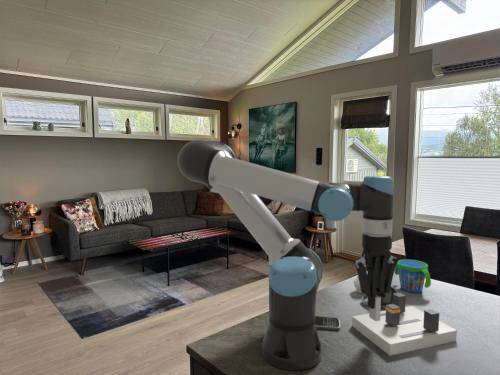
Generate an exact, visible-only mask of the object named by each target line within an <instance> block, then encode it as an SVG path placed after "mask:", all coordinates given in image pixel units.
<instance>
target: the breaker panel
mask: <svg viewBox="0 0 500 375" xmlns="http://www.w3.org/2000/svg"><path fill="white" fill-rule="evenodd" d="M385 321H386V310H381V312H380V321H374V320H373V319H371V318H370V317H369V313H364V314H359V315H352V318H351V323H352V324H351V326H352V328H354V329H355V330H356V331H358V332H359V333H360V334H361V335H363V336H364V337H365V338H367V339H368V340H369V341H370V342H371V343H373V344H374V345H375V346H377V347H378V348H380V349H381V350H382V351H383V352H385V353H386V354H387V355H388V356H394V355H399V354H403V353H409V352H413V351H416V350H421V349H427V348H430V347H431V348H432V347H435V346H440V345H443V344H444V345H445V344H449V343H453V342H457V337H458V336H457V334H458V332H457V331H458V330H457V329H455V328H453V327H452V326H449V325H448V324H446V323H445V322H443V321H440V320H439V329H438V331H436V332H432V333H431V332H429V331H428V330H426V329H424V328H423V324H424V311H422V310H420V309H418V308H417V307H414V306H412V305H411V306H405V312H402V313H400V321H399V325H397V326H391V325H389V324H387V323H386V322H385Z"/></svg>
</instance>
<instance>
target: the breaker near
mask: <svg viewBox="0 0 500 375" xmlns="http://www.w3.org/2000/svg"><path fill="white" fill-rule="evenodd" d="M423 312H424V324H423V328H424V329H426V330H428V331H429V332H431V333H432V332H436V331H438V329H439V321H440V312H438V311H436V310H434V309H432V308H429V309H424V310H423Z"/></svg>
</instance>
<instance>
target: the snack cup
mask: <svg viewBox="0 0 500 375" xmlns="http://www.w3.org/2000/svg"><path fill="white" fill-rule="evenodd" d="M394 274H395V276H398V278H399V285H400V289H402V290H403V291H406V292H408V293H420V292H422V291H423V289H424V288H430V287H431V285H432V280H431V275H430V272H429V264H427V263H426V262H424V261H421V260H416V259H398V263H397V264H396V266H395V270H394Z"/></svg>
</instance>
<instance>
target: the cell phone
mask: <svg viewBox="0 0 500 375" xmlns="http://www.w3.org/2000/svg"><path fill="white" fill-rule="evenodd" d="M315 326H316V329H317V330H318V329H319V330H329V331H330V330H331V331H339V330H341V321H340V319H339V318H338V317H330V316H318V315H315Z"/></svg>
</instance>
